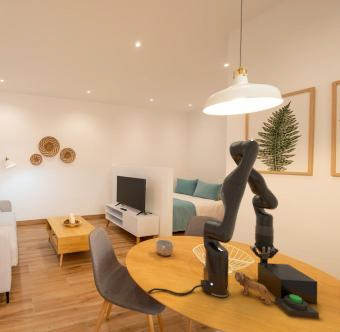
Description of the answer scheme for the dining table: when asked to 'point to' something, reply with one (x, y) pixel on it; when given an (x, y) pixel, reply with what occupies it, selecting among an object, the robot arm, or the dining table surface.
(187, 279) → the dining table surface
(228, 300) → the dining table surface
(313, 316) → the control block
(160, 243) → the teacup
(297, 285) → the cabinet
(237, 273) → the lion figurine
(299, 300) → the button
